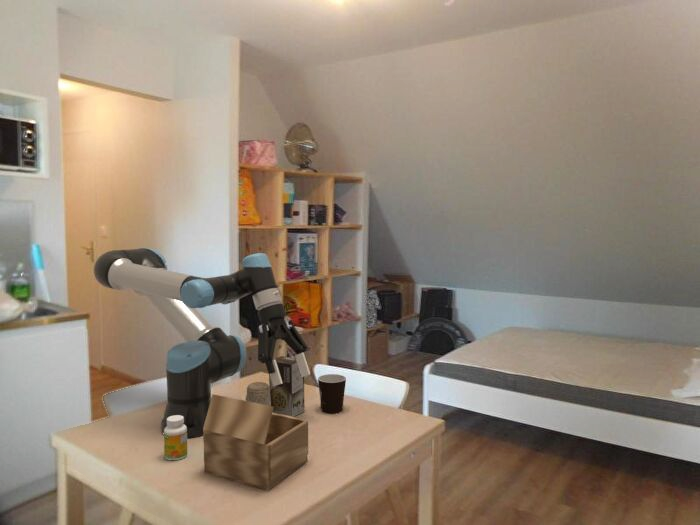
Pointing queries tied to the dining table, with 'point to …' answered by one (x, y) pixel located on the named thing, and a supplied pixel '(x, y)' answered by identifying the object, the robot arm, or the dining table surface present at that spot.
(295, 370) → the coffee box
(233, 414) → the flap
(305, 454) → the wooden open box
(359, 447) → the dining table surface
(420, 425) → the dining table surface
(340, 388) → the coffee mug
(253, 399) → the carving
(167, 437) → the supplement bottle
